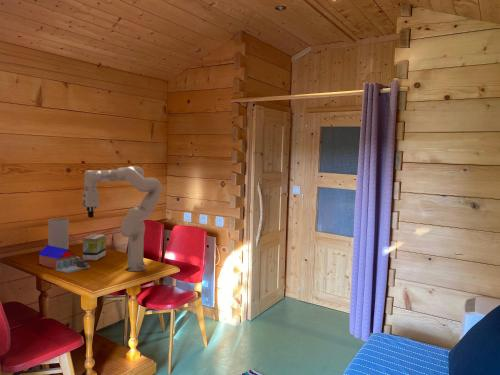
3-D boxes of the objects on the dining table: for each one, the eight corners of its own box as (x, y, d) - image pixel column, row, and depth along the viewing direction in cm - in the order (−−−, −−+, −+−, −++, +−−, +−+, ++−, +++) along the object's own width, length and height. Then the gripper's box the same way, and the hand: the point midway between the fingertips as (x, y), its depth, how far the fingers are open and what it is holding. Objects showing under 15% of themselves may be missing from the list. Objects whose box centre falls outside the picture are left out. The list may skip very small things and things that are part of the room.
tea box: (97, 260, 260) (97, 238, 259) (82, 260, 261) (82, 238, 260) (106, 255, 275) (106, 234, 274) (91, 254, 276) (91, 233, 275)
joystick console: (90, 267, 244) (90, 258, 243) (67, 273, 230) (67, 264, 229) (78, 264, 249) (78, 256, 248) (55, 270, 235) (55, 261, 234)
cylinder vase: (48, 254, 273) (48, 218, 272) (67, 252, 279) (67, 217, 277) (48, 258, 262) (48, 221, 261) (69, 256, 268) (69, 220, 266)
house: (56, 261, 257) (55, 243, 256) (76, 265, 247) (76, 247, 246) (38, 265, 246) (38, 246, 245) (58, 270, 237) (58, 251, 236)
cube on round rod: (89, 266, 241) (89, 260, 241) (84, 268, 237) (84, 261, 237) (78, 264, 246) (78, 258, 246) (72, 265, 242) (72, 259, 242)
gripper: (84, 190, 247) (84, 219, 248) (104, 189, 260) (104, 216, 261) (77, 189, 250) (77, 218, 251) (96, 188, 263) (96, 215, 264)
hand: (90, 217), depth 256 cm, fingers closed
